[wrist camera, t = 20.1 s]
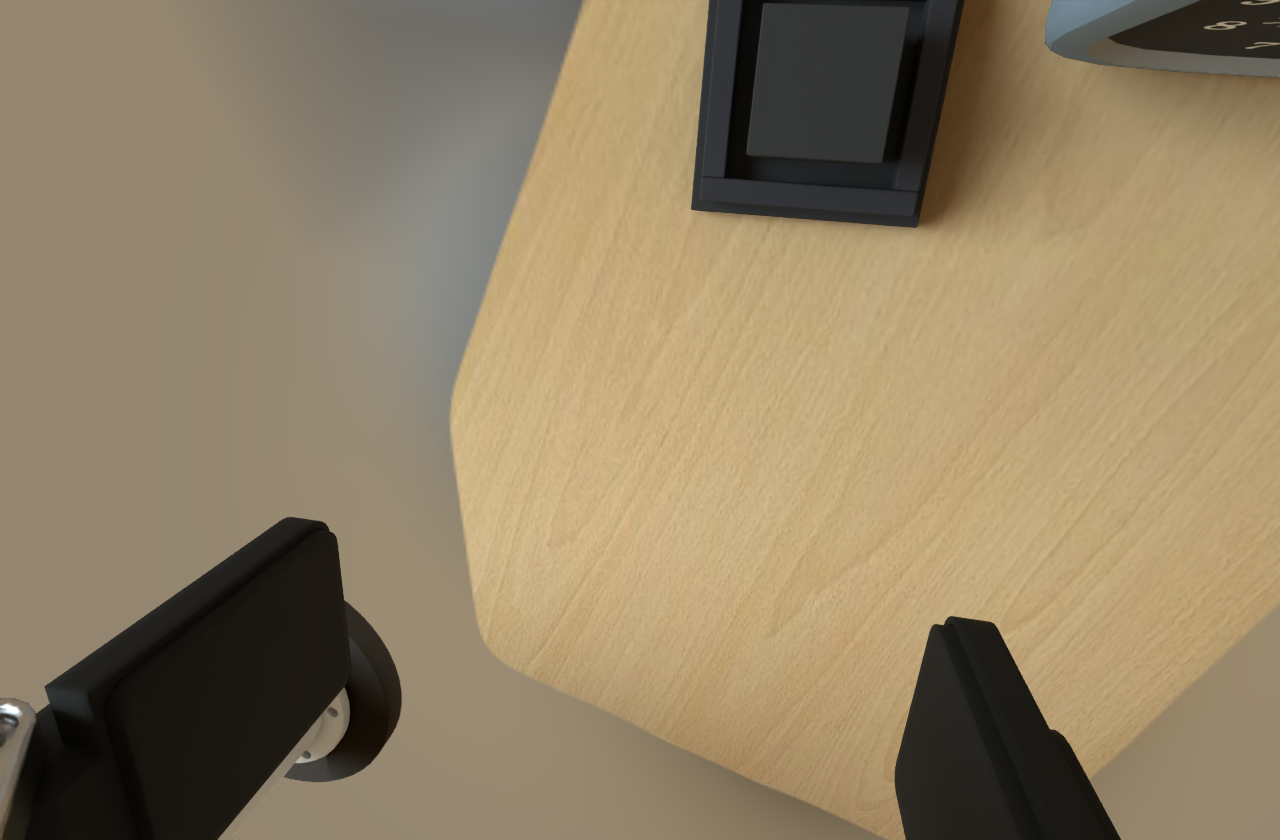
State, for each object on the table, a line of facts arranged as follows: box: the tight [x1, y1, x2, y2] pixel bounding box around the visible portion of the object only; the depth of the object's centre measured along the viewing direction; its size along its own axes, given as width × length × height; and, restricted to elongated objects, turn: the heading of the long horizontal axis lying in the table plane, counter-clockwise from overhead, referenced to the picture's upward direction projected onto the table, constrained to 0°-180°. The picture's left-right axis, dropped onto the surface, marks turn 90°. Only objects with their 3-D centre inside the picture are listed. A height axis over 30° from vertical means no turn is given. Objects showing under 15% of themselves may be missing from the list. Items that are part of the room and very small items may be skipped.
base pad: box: [691, 0, 964, 228], centre depth 28 cm, size 10×10×2 cm
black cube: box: [746, 3, 910, 164], centre depth 26 cm, size 5×5×4 cm
